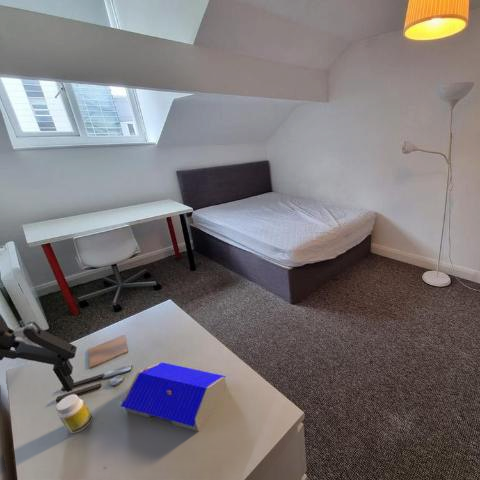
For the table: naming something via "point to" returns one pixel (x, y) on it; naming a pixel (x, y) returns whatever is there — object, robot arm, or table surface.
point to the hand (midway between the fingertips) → (25, 405)
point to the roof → (174, 394)
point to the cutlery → (113, 382)
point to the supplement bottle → (73, 413)
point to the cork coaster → (107, 351)
